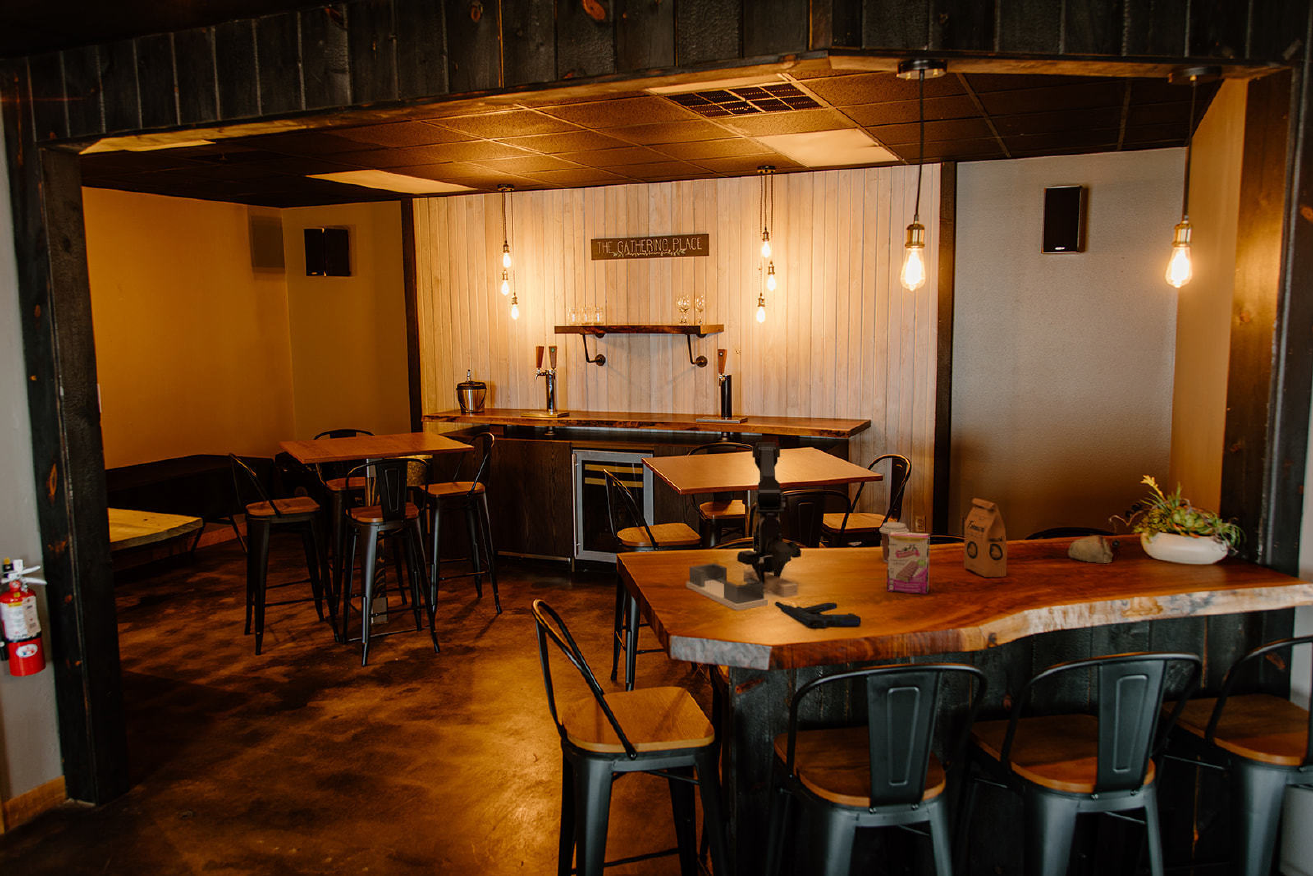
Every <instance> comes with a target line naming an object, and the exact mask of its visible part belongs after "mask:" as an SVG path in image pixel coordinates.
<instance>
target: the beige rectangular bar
mask: <svg viewBox="0 0 1313 876" xmlns="http://www.w3.org/2000/svg"><path fill="white" fill-rule="evenodd" d="M750 577H751V578H753V579H755V580H758V581H759V579H758V577H757V574H756V572H755V570H754V568H752V569H746V570H743V582H745V583H747V578H750ZM764 591H767V592H769V593H772V594H775V595H777V596H779V597H782V598H784V599H785V598H791V597H796V596H798V592H799V591H798V583H795V582H793V581H790V580H787V579H785V578H782V577H781V576H780V577H777V576H774V574H772V573H770V572H765V581H764Z"/></svg>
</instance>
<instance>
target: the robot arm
mask: <svg viewBox="0 0 1313 876" xmlns="http://www.w3.org/2000/svg"><path fill="white" fill-rule="evenodd" d="M751 449H752V452H751V454H752V455H751V456H752V458H754V464H755V465H756V467H757V469H758V471H759V482H758V483H757V490H755V512H756V514H758V521H757V523H756V525H755V528H754V530H755V531H753V533H752V534H753V535H752V549H753V550H750V549H748V550H743V551H739V552H738V553H737V556H736V559H737V560H736V562H739V563H740V564H741V563H742V564H744V565H747V566H751V567H752V569H754V570H755V572H756V574H757V577H758V579H759V581H760V582H763V583H764V581H765V572H767V573H770V572H773V575H774V576H777V577H780V578H781V575H782V573H783V570H784V567H785V565H786V564H788V563H789V562H791V561H792V559H796V558H801V557H802V550H801V548H800V547H799V546H798V545H797V542H796V541H795V540H794V541H793V540H792V541H784V537H783V534H782V533H781V531H782V524H781V520H780V514H784V510H786V497H785V496H786V494H784V491H783V490H781V483H780V482H779V481H778V480H777V479H776V470H775V467H776V466H777V464H778V458H781V446H780V445H777V444H776V442H756V444H755V445H752V448H751Z"/></svg>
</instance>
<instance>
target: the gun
mask: <svg viewBox="0 0 1313 876" xmlns="http://www.w3.org/2000/svg"><path fill="white" fill-rule="evenodd" d="M774 605H775V606H776V607H777V608H779V609H780V611H782V612H783V613H785V614H786V615H788V616H789V617H792V618H793V619H795V620H796V621H798V622H800V623H801V624H802V625H805V626H807V627H808V628H810V629H821V628H826V627H838V628H839V627H845V628H846V627H847V628H849V627H859V626H860V625H861V623H862V618H861V617H860V616H859V615H856V614H854V613H851V612H849V613H845V614H843V613H842V614H827V613H826V614H824V613H823V612H828V611H831V610H835V609H838V604H837V602H836V603H835V602H824V603H820V604H814V605H811V606H807V607H802V606H798V605H797V606H796V607H795V606H793V605H791V604H789V605H787V604H784V603H782V602H780V601H775V602H774Z"/></svg>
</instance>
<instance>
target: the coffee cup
mask: <svg viewBox="0 0 1313 876" xmlns="http://www.w3.org/2000/svg"><path fill="white" fill-rule="evenodd" d="M878 531H879V532H880V533H881V544H882V545H881V546H882V556H883V559H882V560H883V563H886V564H888V535H889V532H890V531H892V532H907V533H910V530H909V529H908V528H907V524H905V523H904V522H903V523H902V522H898V521H897V522H896V521H888V522H884V523H882V526H881V527H880V528H879V530H878Z"/></svg>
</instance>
